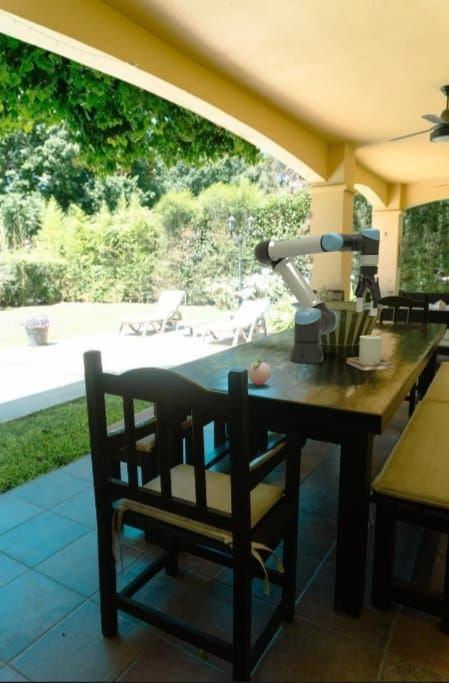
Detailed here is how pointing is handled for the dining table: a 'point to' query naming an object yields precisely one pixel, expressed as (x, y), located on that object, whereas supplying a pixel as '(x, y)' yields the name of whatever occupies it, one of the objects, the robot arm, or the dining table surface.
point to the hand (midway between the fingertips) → (366, 313)
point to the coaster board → (370, 364)
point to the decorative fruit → (259, 372)
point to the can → (370, 349)
